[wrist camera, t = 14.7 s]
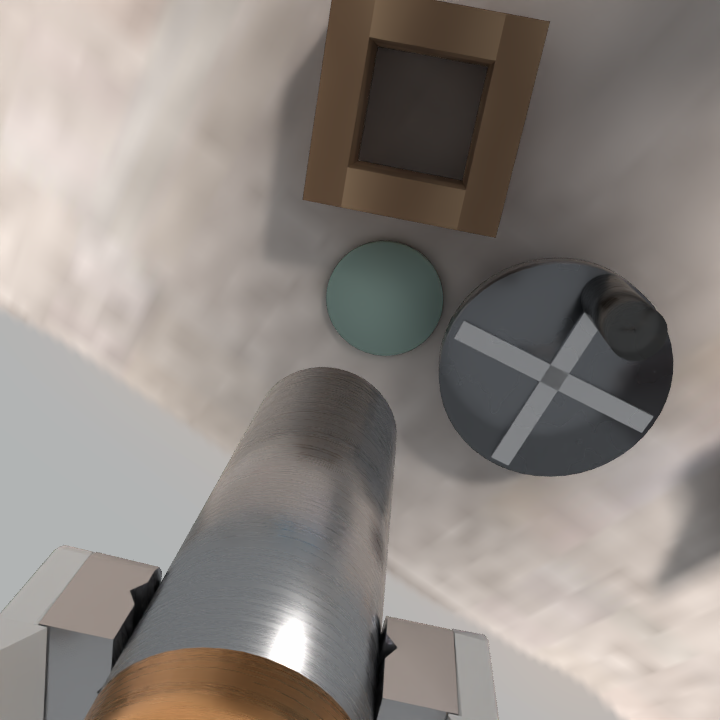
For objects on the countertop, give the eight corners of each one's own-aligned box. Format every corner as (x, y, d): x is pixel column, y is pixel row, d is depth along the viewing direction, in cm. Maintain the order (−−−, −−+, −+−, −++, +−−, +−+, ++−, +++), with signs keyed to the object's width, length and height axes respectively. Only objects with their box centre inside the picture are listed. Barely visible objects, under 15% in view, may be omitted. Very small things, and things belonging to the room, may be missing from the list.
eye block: (534, 33, 29) (549, 21, 25) (488, 222, 31) (495, 237, 28) (347, -3, 29) (334, -19, 25) (318, 189, 32) (302, 199, 28)
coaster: (454, 253, 32) (454, 255, 32) (429, 363, 34) (429, 365, 34) (337, 230, 32) (336, 231, 32) (319, 340, 34) (317, 343, 34)
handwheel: (584, 497, 33) (616, 578, 27) (401, 406, 33) (394, 470, 27) (711, 322, 30) (778, 373, 24) (508, 217, 29) (527, 244, 23)
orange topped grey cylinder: (409, 383, 16) (388, 876, 6) (381, 507, 17) (318, 1106, 7) (266, 353, 16) (-19, 786, 6) (247, 479, 17) (-17, 1029, 7)
